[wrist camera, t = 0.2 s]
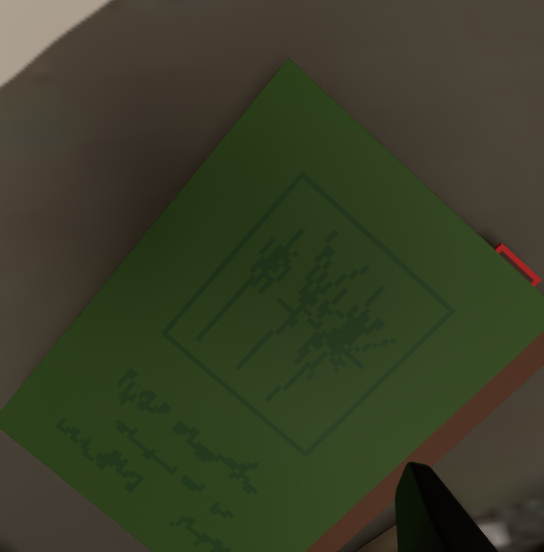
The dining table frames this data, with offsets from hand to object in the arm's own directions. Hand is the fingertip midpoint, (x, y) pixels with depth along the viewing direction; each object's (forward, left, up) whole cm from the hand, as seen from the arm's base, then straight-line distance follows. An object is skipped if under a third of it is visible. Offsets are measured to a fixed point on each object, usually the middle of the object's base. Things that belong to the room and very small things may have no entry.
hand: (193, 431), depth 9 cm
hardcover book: (-2, -4, -16) cm, 17 cm away
